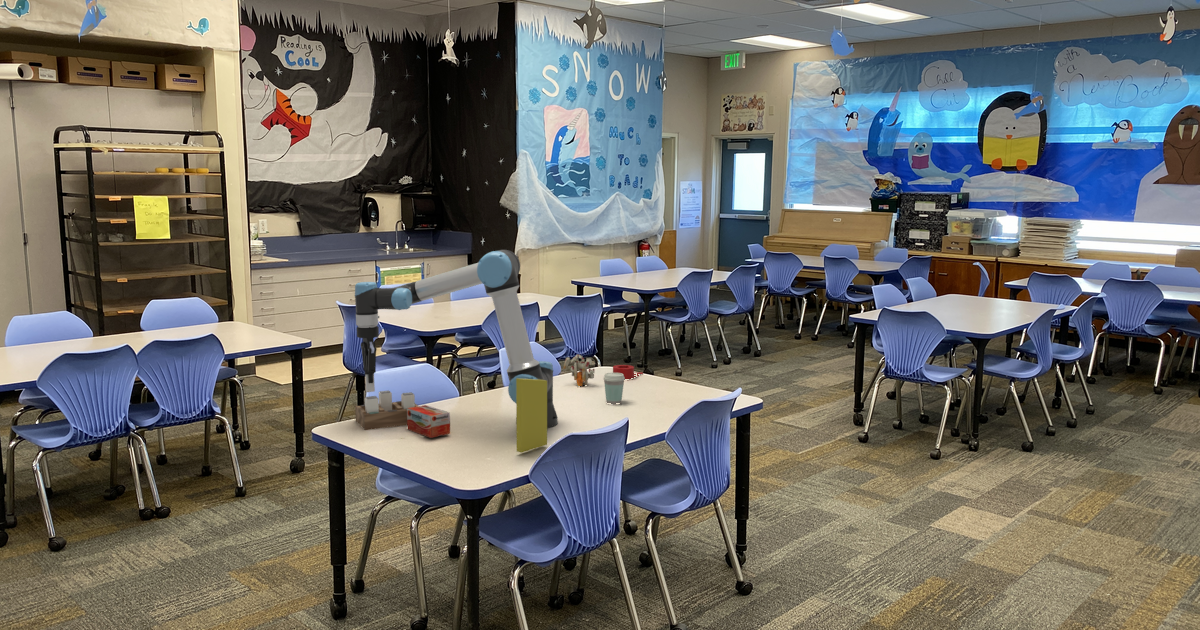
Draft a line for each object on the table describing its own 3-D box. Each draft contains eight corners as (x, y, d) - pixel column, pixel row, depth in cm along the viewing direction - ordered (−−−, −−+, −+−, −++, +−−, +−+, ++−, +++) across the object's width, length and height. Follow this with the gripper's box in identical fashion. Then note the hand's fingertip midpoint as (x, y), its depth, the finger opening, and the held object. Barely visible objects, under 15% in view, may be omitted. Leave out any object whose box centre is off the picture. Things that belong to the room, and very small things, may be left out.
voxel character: (596, 388, 368) (596, 354, 366) (584, 392, 360) (584, 357, 358) (574, 385, 374) (574, 351, 372) (562, 389, 366) (562, 354, 364)
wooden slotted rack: (420, 423, 309) (420, 407, 308) (365, 430, 300) (364, 413, 299) (409, 414, 321) (409, 399, 320) (355, 421, 312) (355, 404, 311)
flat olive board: (542, 443, 286) (542, 372, 283) (547, 444, 284) (547, 373, 281) (516, 451, 276) (516, 378, 273) (521, 452, 275) (521, 379, 272)
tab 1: (378, 417, 304) (378, 397, 303) (367, 419, 302) (366, 398, 301) (376, 415, 306) (376, 395, 305) (365, 417, 304) (364, 396, 303)
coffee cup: (627, 405, 338) (627, 376, 337) (606, 407, 336) (606, 377, 335) (621, 400, 346) (621, 371, 345) (600, 402, 344) (601, 372, 343)
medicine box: (450, 434, 296) (450, 411, 295) (431, 438, 290) (430, 415, 289) (425, 425, 307) (425, 404, 306) (406, 430, 301) (405, 407, 300)
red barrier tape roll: (624, 384, 377) (625, 369, 377) (608, 381, 384) (608, 367, 383) (649, 378, 391) (649, 364, 390) (633, 375, 397) (633, 361, 396)
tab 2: (392, 411, 312) (391, 391, 311) (381, 412, 311) (380, 392, 310) (390, 409, 315) (389, 390, 314) (379, 411, 313) (378, 391, 312)
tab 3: (414, 413, 310) (414, 393, 309) (404, 414, 308) (403, 394, 307) (412, 411, 312) (412, 391, 311) (401, 413, 311) (401, 393, 310)
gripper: (382, 327, 298) (385, 393, 302) (373, 322, 310) (376, 386, 313) (361, 329, 295) (364, 396, 298) (352, 324, 306) (355, 389, 309)
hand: (370, 391), depth 305 cm, fingers closed
